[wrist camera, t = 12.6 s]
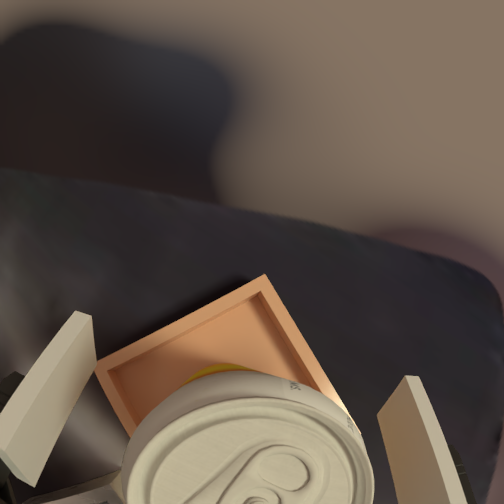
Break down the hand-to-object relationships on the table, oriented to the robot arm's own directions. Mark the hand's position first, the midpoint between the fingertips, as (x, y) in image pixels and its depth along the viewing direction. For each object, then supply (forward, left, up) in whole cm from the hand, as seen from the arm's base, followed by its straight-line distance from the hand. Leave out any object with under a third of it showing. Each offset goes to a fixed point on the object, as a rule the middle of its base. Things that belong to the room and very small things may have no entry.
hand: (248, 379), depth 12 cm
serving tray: (+2, -2, -9) cm, 10 cm away
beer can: (+2, -2, -9) cm, 9 cm away
